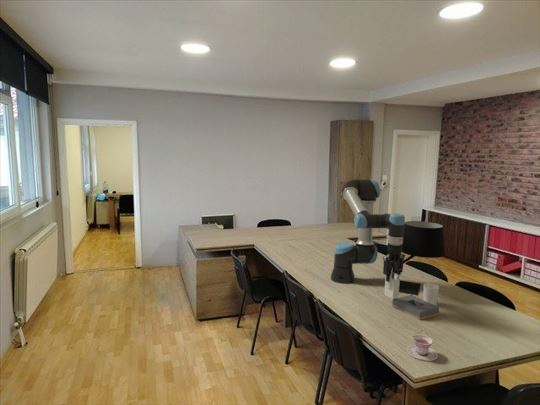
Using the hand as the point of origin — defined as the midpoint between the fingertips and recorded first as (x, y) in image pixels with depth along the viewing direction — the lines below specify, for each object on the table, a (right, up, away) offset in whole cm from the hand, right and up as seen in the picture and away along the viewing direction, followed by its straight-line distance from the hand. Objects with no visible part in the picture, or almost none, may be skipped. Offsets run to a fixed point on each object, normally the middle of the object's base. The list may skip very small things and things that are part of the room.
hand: (391, 286), depth 196 cm
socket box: (+12, -12, -2) cm, 17 cm away
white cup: (+23, -11, +8) cm, 27 cm away
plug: (0, -5, +1) cm, 5 cm away
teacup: (-2, -18, -44) cm, 47 cm away
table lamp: (+25, -8, +29) cm, 39 cm away
